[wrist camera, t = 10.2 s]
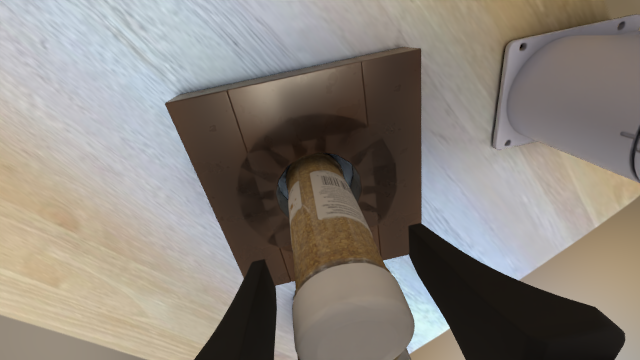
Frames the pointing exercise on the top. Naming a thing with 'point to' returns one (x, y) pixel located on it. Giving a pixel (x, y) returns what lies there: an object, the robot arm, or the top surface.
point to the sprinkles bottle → (340, 272)
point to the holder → (308, 149)
